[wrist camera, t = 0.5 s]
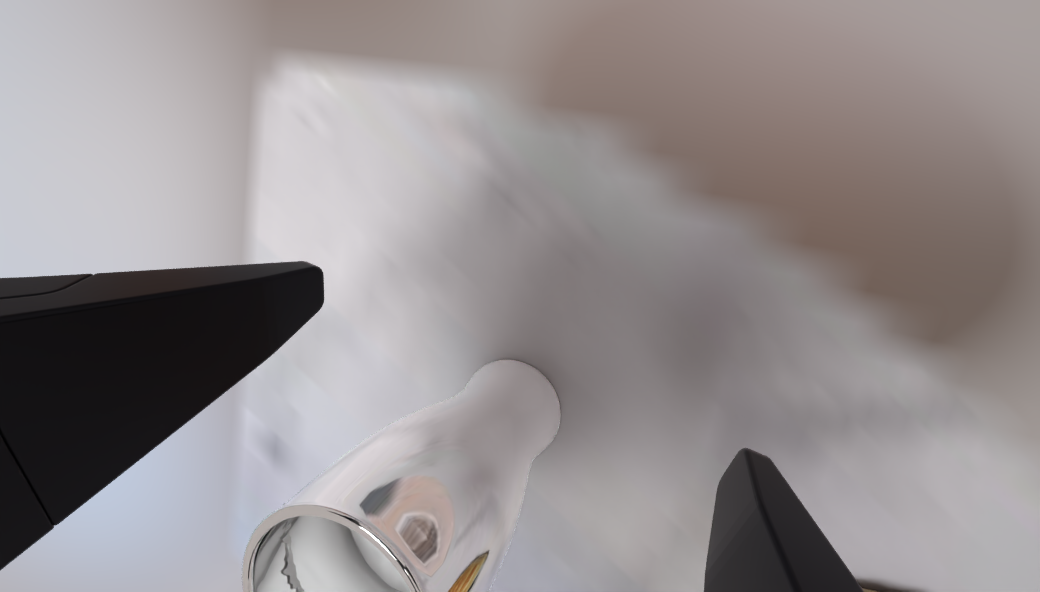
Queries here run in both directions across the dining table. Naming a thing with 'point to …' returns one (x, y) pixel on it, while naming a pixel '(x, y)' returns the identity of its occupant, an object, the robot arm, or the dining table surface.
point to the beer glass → (415, 497)
